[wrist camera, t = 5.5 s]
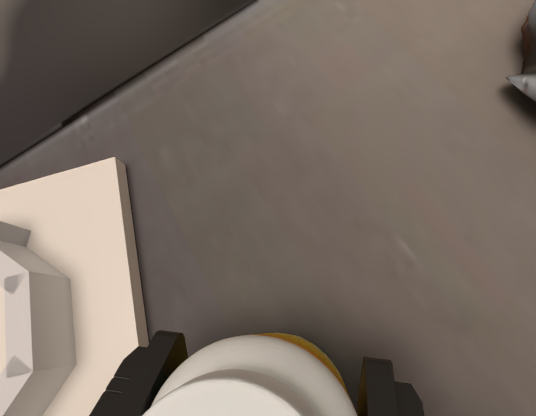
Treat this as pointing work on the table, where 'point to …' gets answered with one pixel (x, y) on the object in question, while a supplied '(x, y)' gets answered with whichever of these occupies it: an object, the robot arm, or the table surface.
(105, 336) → the socket base
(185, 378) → the supplement bottle
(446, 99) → the table surface
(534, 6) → the lucky cat figurine
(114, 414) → the robot arm
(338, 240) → the table surface
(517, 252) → the table surface
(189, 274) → the table surface
